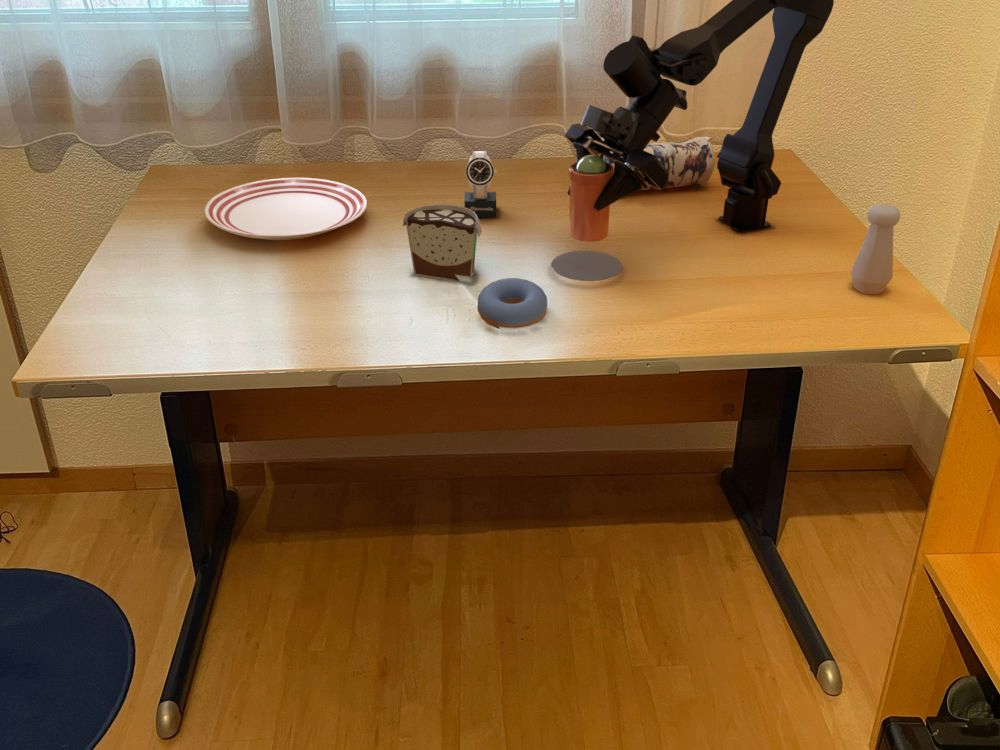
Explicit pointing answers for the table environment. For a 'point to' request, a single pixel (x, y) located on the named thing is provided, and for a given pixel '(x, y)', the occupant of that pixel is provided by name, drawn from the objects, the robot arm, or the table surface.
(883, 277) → the salt shaker
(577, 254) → the saucer
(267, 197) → the dinner plate
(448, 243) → the food container
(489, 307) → the doughnut
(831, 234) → the table surface
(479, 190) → the watch
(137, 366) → the table surface
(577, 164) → the plant pot
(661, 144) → the pencil case
